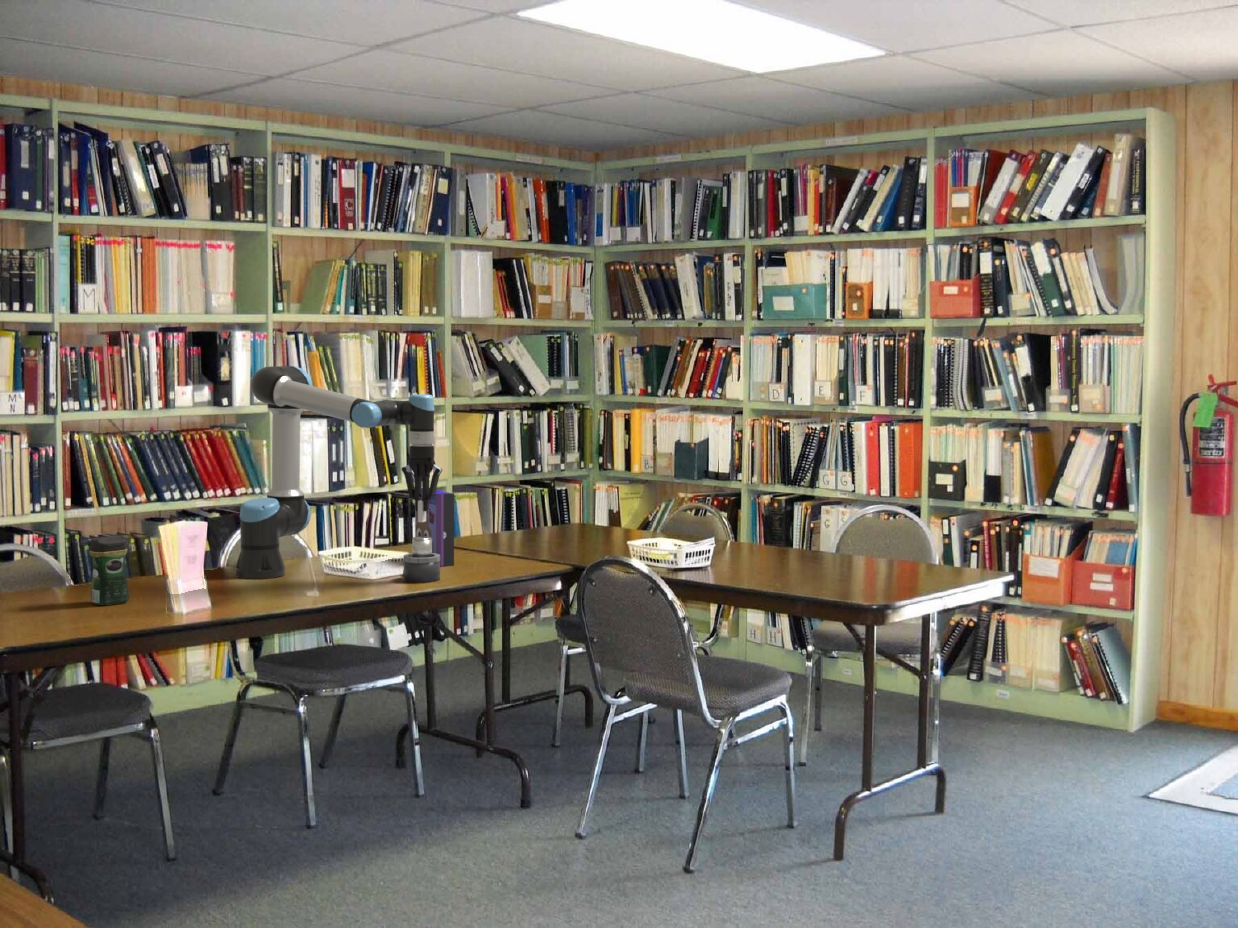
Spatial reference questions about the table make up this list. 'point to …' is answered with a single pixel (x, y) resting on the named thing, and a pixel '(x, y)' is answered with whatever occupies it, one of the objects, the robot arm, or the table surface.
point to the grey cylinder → (422, 547)
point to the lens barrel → (422, 568)
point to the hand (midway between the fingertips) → (422, 521)
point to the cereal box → (439, 526)
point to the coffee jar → (109, 570)
